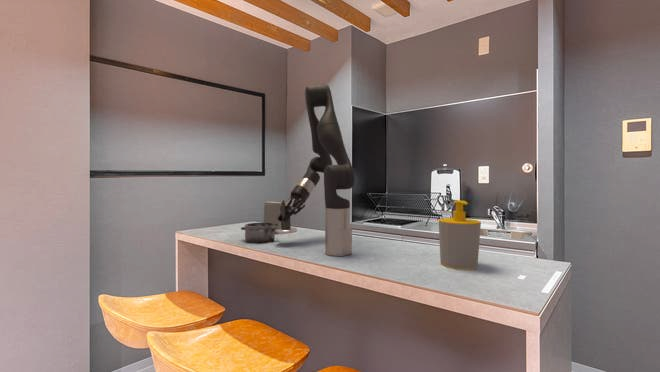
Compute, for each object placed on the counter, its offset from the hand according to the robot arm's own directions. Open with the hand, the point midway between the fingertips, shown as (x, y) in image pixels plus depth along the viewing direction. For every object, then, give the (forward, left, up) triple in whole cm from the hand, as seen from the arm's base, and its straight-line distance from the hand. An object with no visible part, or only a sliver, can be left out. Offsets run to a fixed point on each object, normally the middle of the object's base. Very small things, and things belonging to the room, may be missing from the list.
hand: (281, 220), depth 143 cm
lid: (0, -2, -5) cm, 5 cm away
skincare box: (+27, -17, -11) cm, 34 cm away
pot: (+15, 0, -11) cm, 19 cm away
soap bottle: (-67, -20, -11) cm, 70 cm away
